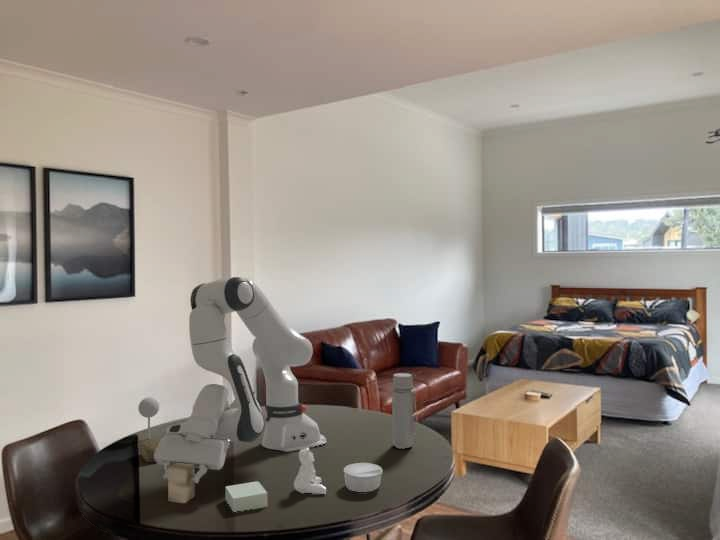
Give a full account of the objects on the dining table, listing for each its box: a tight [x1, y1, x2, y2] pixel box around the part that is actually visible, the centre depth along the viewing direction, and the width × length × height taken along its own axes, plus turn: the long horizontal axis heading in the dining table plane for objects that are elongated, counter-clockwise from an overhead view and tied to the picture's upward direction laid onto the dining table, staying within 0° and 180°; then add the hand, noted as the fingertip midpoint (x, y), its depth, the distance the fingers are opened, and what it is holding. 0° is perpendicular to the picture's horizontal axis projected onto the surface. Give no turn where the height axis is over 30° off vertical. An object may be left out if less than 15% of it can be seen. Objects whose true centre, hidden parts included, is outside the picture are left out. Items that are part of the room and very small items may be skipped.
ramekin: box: [343, 462, 383, 492], centre depth 170 cm, size 11×11×5 cm
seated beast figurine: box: [293, 448, 327, 495], centre depth 168 cm, size 10×9×12 cm
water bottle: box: [391, 372, 419, 446], centre depth 206 cm, size 9×8×25 cm
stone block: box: [138, 438, 160, 463], centre depth 195 cm, size 6×12×5 cm, turn 34°
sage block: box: [224, 481, 268, 513], centre depth 159 cm, size 9×9×4 cm
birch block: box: [167, 462, 196, 504], centre depth 162 cm, size 5×5×9 cm
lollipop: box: [138, 397, 160, 440], centre depth 215 cm, size 7×7×15 cm
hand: (180, 480), depth 161 cm, fingers open, 7 cm apart
